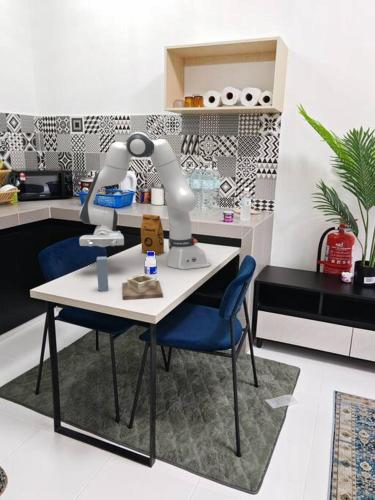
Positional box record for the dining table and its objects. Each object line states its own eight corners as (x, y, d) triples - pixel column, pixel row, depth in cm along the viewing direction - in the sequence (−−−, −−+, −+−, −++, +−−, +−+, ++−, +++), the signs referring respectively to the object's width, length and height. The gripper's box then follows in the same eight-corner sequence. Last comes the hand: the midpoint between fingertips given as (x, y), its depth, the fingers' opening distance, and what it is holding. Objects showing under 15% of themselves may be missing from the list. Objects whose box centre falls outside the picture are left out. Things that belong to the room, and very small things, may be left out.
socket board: (158, 283, 174) (158, 272, 173) (162, 297, 159) (162, 284, 157) (122, 285, 171) (121, 274, 170) (122, 299, 156) (122, 286, 155)
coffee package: (157, 256, 216) (156, 217, 210) (139, 253, 222) (137, 215, 216) (167, 252, 224) (166, 214, 218) (149, 249, 230) (148, 212, 224)
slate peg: (108, 287, 170) (106, 256, 166) (108, 290, 166) (106, 259, 162) (98, 288, 169) (97, 256, 165) (98, 291, 165) (96, 259, 161)
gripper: (79, 231, 186) (77, 238, 173) (123, 230, 190) (124, 237, 177) (80, 244, 188) (77, 251, 175) (123, 243, 191) (124, 250, 178)
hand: (101, 244), depth 176 cm, fingers open, 8 cm apart
